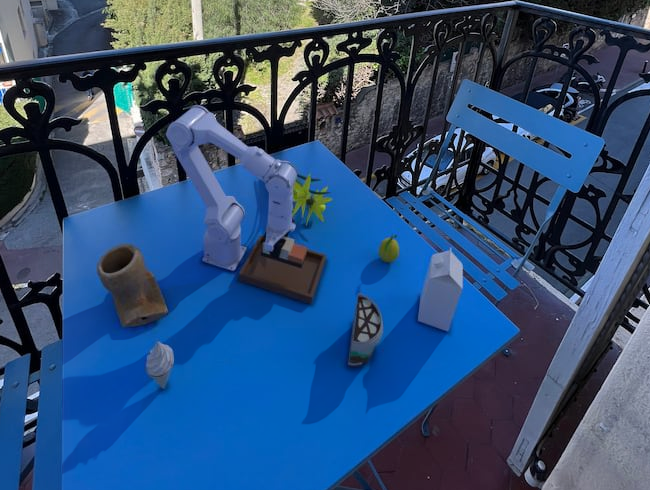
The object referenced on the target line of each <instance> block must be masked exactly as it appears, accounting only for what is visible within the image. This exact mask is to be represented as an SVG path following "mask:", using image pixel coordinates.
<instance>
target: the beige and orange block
mask: <svg viewBox="0 0 650 490" xmlns="http://www.w3.org/2000/svg"><path fill="white" fill-rule="evenodd" d="M282 239H285V240H286V242H285V244H284V246H283V247H282V249H281V253H280V256H279V258H278V259H277V258H274V257H271V255H270V252H269V251H268V250H265V249H264V242H263V249H262V251H261V256H263V257H266V258H270V259H273V260H276V261H279V262H282V263H286V264H289V265H292V266H295V267H298V268H302V265H303V263H304V260H305V258H306V255H307V249H308V247H307V246H304V245H301V244H297V243H295V239H294V238H292V237H289V236H288V237H285V236H283V237H282Z"/></svg>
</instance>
